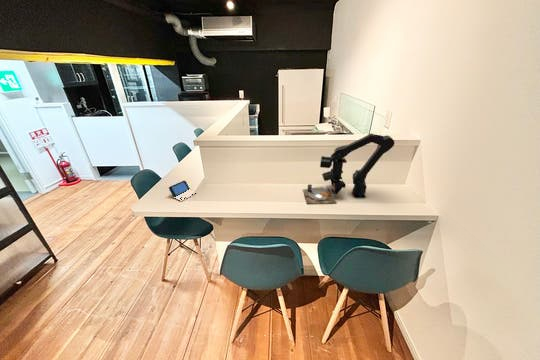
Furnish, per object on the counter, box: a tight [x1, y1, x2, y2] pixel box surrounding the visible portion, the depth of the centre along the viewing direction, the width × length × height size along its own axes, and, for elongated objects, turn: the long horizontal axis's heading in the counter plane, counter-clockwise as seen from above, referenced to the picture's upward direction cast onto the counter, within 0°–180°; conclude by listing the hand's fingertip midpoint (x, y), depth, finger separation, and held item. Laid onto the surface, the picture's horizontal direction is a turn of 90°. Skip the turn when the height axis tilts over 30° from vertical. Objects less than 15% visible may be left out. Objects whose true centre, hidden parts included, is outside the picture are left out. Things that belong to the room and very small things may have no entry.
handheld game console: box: [168, 180, 191, 200], centre depth 134 cm, size 12×11×7 cm
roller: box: [330, 185, 336, 195], centre depth 134 cm, size 4×4×5 cm
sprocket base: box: [302, 188, 337, 205], centre depth 131 cm, size 17×17×1 cm
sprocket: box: [306, 183, 333, 201], centre depth 129 cm, size 16×15×6 cm
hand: (334, 191), depth 135 cm, fingers open, 7 cm apart
